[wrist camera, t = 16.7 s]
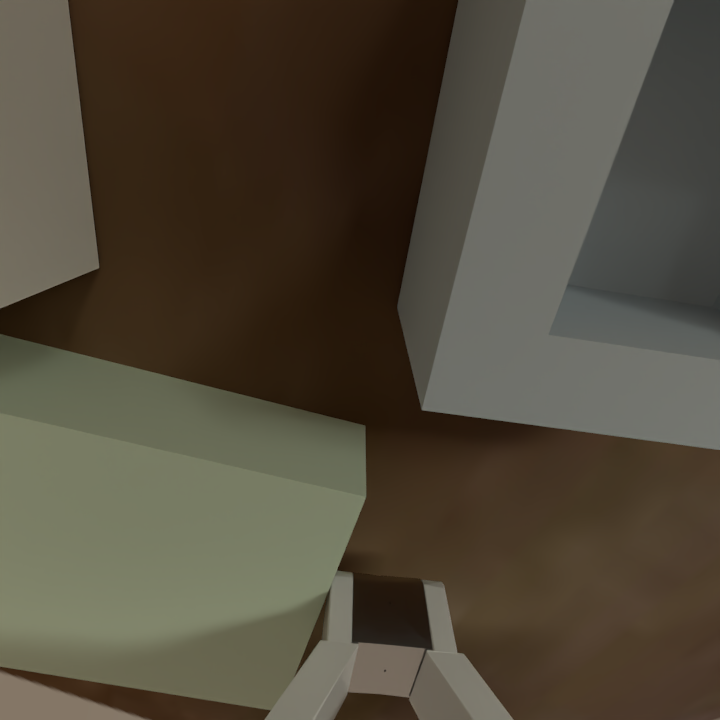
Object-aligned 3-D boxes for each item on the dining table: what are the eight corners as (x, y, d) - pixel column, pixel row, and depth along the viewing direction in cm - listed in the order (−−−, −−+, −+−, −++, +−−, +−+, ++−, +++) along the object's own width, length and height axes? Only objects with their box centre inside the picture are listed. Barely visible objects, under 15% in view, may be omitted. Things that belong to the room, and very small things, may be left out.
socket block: (926, -55, 6) (1688, -343, 3) (700, 352, 9) (919, 476, 6) (488, -151, 6) (693, -653, 2) (397, 307, 9) (421, 410, 5)
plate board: (365, 422, 10) (366, 497, 8) (293, 620, 14) (279, 711, 11) (-180, 285, 9) (-366, 328, 7) (-110, 544, 12) (-218, 631, 10)
